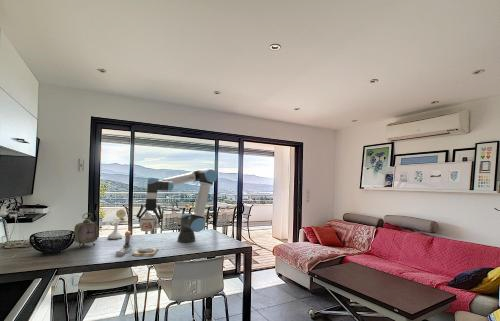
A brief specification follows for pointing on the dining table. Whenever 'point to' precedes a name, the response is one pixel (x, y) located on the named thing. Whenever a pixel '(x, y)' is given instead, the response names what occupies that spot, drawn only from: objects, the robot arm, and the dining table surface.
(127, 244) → the lever handle
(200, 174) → the robot arm
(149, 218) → the teacup with lid
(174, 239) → the dining table surface
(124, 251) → the lever track
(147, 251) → the press bed
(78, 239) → the tabletop clock
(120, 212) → the flower in vase
